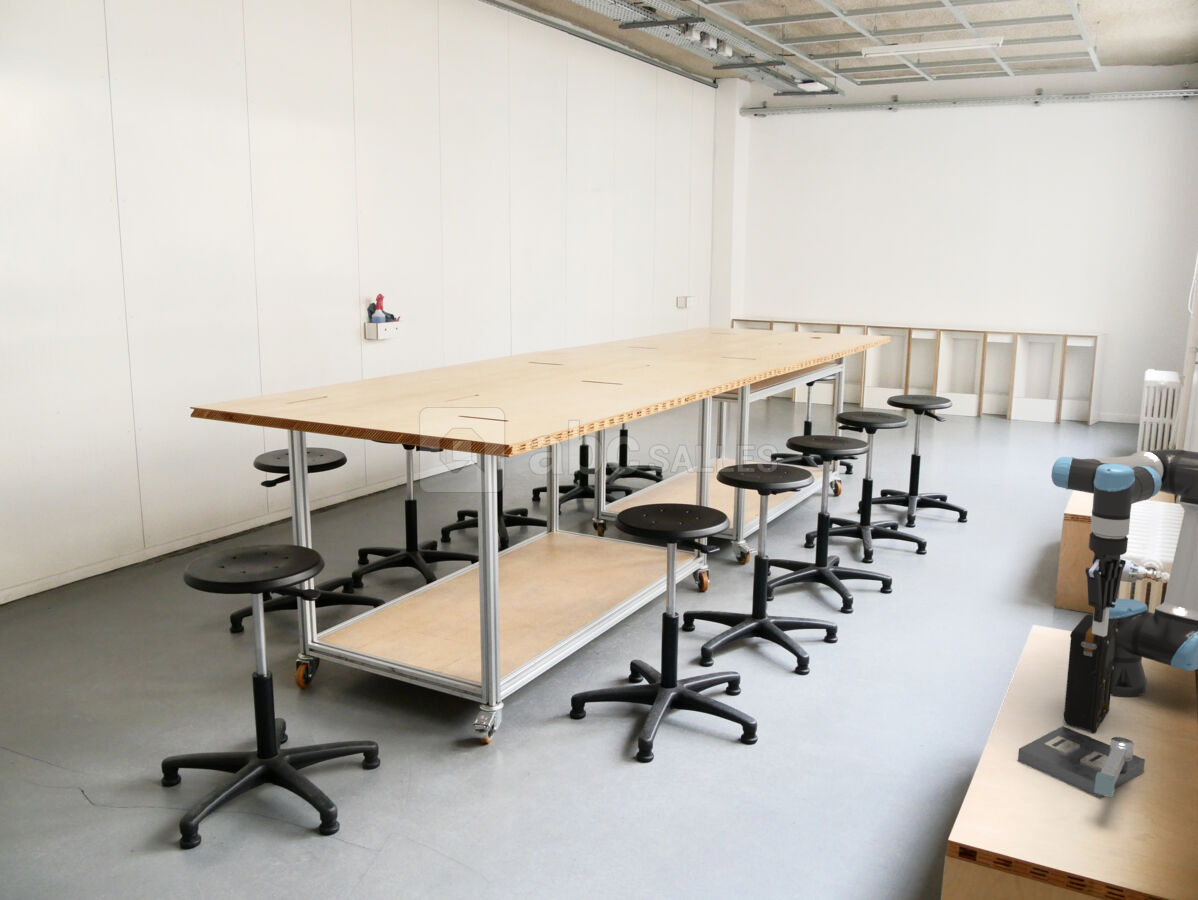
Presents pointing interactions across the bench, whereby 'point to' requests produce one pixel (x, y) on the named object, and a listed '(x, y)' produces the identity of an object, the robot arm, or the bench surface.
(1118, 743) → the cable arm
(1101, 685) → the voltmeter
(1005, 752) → the bench surface
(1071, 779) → the grey slotted box
